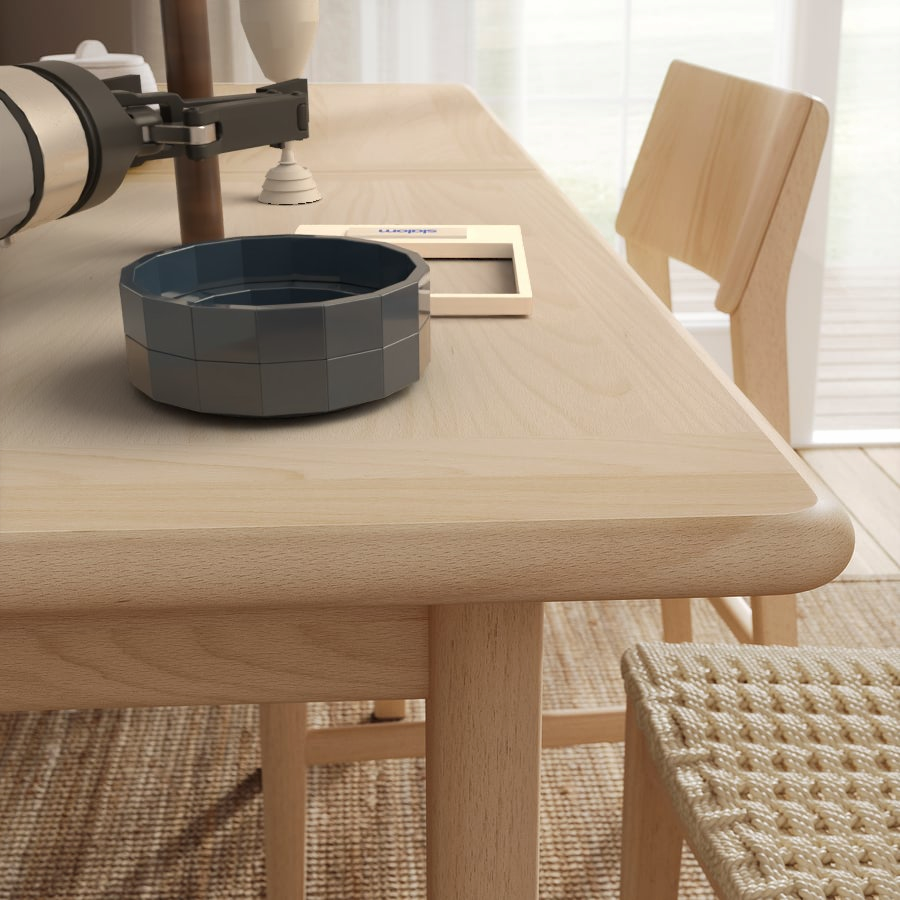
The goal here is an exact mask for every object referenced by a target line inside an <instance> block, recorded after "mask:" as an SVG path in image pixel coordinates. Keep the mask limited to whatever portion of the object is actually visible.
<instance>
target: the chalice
mask: <svg viewBox="0 0 900 900" xmlns="http://www.w3.org/2000/svg"><path fill="white" fill-rule="evenodd" d="M238 3H239V4H238V5H239V18H240V24H241V27H242V29H243V32H244V34H245V37H246V40H247V43H248V45H249V48H250V50H251V52H252V55H253V56H254V58H255V60H256V62H257V64H258V66H259V68H260V70H261V72H262V74H263V76H264V78H265V79H267V80H268V81H271V82H274V83H275V84H276V83H280V82H284V81H288V80H292V79H296V78H302V75H303V73H304V70H305V68H306V65H307V63H308V60H309V57H310V55H311V53H312V52H311V51H312V49H313V48H314V47H313V46H314V43H315V40H316V35H317V31H318V27H319V24H320V5H319V4H320V3H319V0H238ZM294 144H295V140H294V141H288V142H285V148H284V149H281V155H280V160H279V161H277V163H278V165H276V166H275V167H271V168H269V169H268V171H267V173H266V174H265V176H264V178H265V180H264V181H263V183H262V186H261V188H262V190H261V191H260V194H259V196H258V198H257V201H258V202H260V203H263V204H268V203H271V204H270V205H279V204H293V205H299V204H298V203H305V204H307V203H306V202H312V203H314V202H313V201H316V200H319V199H321V197H322V198H323V196H322V194H321V193H320V192H319V190H318V188H317V186H318V185H317V183H316V182H315V180H314V178H313V174H312V172H311V171H310V170H309V168H307V167H305V166H301V165H299V164H298V162H299V161H298V160H296V157H295V154H294ZM321 200H322V199H321ZM319 201H320V200H319ZM316 202H317V201H316Z"/></svg>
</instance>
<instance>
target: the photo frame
mask: <svg viewBox="0 0 900 900" xmlns="http://www.w3.org/2000/svg"><path fill="white" fill-rule="evenodd" d="M293 234H305V235H332V236H347V237H354V238H361V239H368V240H375V241H381V242H387V243H390V244H393V245H396V246H399V247H402V248H405V249H408V250H411V251H414V252H417V253H419V255H420V256H421V257H422V258H423V259H425V258H432V259H433V258H434V259H436V258H438V259H439V258H442V259H443V258H444V259H445V258H446V259H447V258H450V259H451V258H452V259H453V258H455V259H458V258H459V259H462V258H464V259H465V258H467V259H471V258H473V259H474V258H475V259H477V258H478V259H490V258H491V259H496V258H497V259H511V260H512V266H513V274H514V281H515V287H516V288H515V289H516V293H430V315H520V316H521V315H522V316H523V315H524V316H525V315H533V301H534V300H533V299H534V297H533V291H532V286H531V282H530V275H529V269H528V264H527V258H526V252H525V248H524V240H523V236H522V231H521V225H520V224H299V226H298V227H297V228H296V230H295V232H294V233H293Z"/></svg>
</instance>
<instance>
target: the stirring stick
mask: <svg viewBox="0 0 900 900" xmlns="http://www.w3.org/2000/svg"><path fill="white" fill-rule="evenodd" d="M158 3H159V15H160V26H161V37H162V48H163V58H164V69H165V79H166V92H170V93H176V94H178V95H179V96H180V97H181V98H182V99H191V98H202V97H214V96H215V93H214V79H213V67H212V55H211V54H212V53H211V42H210V41H211V40H210V30H209V29H210V27H209V17H208V3H207V0H158ZM219 159H220V158H219V155H216V156H213V157H210V158H207V159H203V161H193V160H189V159H187V158H186V151H185V154H184V155H183V156H180V157H175V158H173V168H174V179H175V189H176V199H177V212H178V222H179V232H180V242H181V244H180V246H181V245H184V244H188V243H195V242H202V241H209V240H216V239H223V238H226V237H225V236H226V235H225V225H224V223H225V222H224V211H223V210H224V209H223V197H222V186H221V173H220V172H221V170H220V160H219Z"/></svg>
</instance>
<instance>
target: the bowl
mask: <svg viewBox="0 0 900 900" xmlns="http://www.w3.org/2000/svg"><path fill="white" fill-rule="evenodd" d="M118 290H119V297H120V306H121V307H120V308H121V314H122V324H123V332H124V340H125V341H124V343H125V350H126V357H127V359H126V360H127V367H128V377H129V381H130V383H131V385H133V386H134V387H135V388H137V389H138V390H139V391H141V392H142V393H144V394H145V395H146V396H147V397H149V398H150V399H151V400H153V401H155V402H159V403H163V404H167V405H171V406H175V407H179V408H182V409H186V410H190V411H194V412H198V413H204V414H205V413H206V414H210V415H216V416H223V417H231V418H242V419H245V418H246V419H285V418H287V419H288V418H300V417H308V416H309V417H310V416H317V415H323V414H328V413H334V412H338V411H343V410H347V409H350V408H354V407H358V406H360V405H364V404H366V403H369V402H373V401H377V400H382V399H384V398H386V397H388V396H391V395H392V394H395V393H397V392H399V391H400V390H403V389H405V388H407V387H408V386H410V385H413V384H414V383H416V382H419V381H420V380H421V378H422V376H423V374H424V373H425V371H426V370H427V368H428V367H429V365H430V364H431V360H432V354H431V353H432V352H431V351H432V349H431V342H432V341H431V314H430V294H431V268H430V265H429V263H428V262H427V261H426V260H425V258H422V257H421V256H420V255H419V253H417V252H414V251H411V250H408V249H405V248H402V247H399V246H396V245H393V244H390V243H387V242H381V241H375V240H368V239H361V238H354V237H347V236H332V235H305V234H294V233H284V234H282V233H280V234H264V235H263V234H261V235H260V234H259V235H242V236H240V235H239V236H232V237H231V236H230V237H225V238H223V239H216V240H209V241H202V242H195V243H188V244H184V245H181V244H180V245H176V246H173V247H170V248H166V249H163V250H158V251H155V252H151V253H147V254H145V255H143V256H141V257H139V258H138V259H135V260H134V261H133V262H130V263H129V264H127V265H125V266H123V267H122V268H121V269H120V274H119V281H118Z"/></svg>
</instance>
